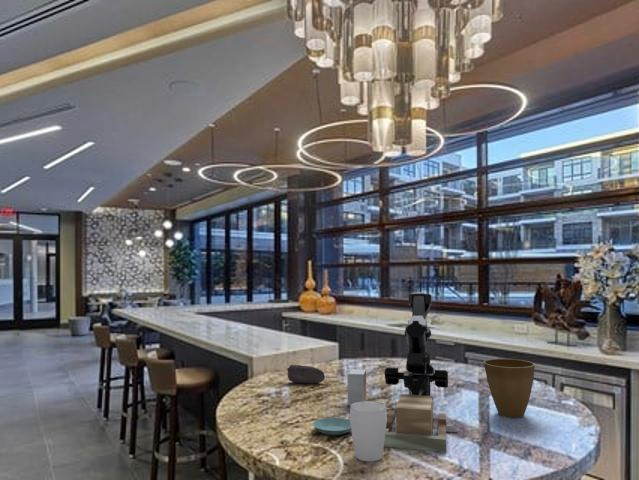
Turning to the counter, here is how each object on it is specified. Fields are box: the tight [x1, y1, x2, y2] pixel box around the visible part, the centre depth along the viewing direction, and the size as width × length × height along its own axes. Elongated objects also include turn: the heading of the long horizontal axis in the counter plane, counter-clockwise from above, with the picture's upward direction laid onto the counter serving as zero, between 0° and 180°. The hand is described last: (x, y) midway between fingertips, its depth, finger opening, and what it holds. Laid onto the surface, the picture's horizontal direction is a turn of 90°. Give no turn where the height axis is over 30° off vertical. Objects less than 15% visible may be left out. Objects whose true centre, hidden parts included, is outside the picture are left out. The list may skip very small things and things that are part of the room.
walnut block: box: [395, 393, 434, 436], centre depth 131 cm, size 14×9×9 cm, turn 165°
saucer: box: [312, 417, 352, 436], centre depth 134 cm, size 12×12×2 cm
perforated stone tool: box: [287, 364, 326, 384], centre depth 191 cm, size 15×5×7 cm, turn 77°
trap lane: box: [384, 409, 458, 453], centre depth 133 cm, size 26×23×3 cm
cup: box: [349, 400, 387, 463], centre depth 116 cm, size 9×9×12 cm
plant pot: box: [483, 358, 536, 419], centre depth 149 cm, size 15×15×16 cm
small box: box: [347, 368, 367, 407], centre depth 163 cm, size 8×6×10 cm
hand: (415, 402), depth 139 cm, fingers closed
